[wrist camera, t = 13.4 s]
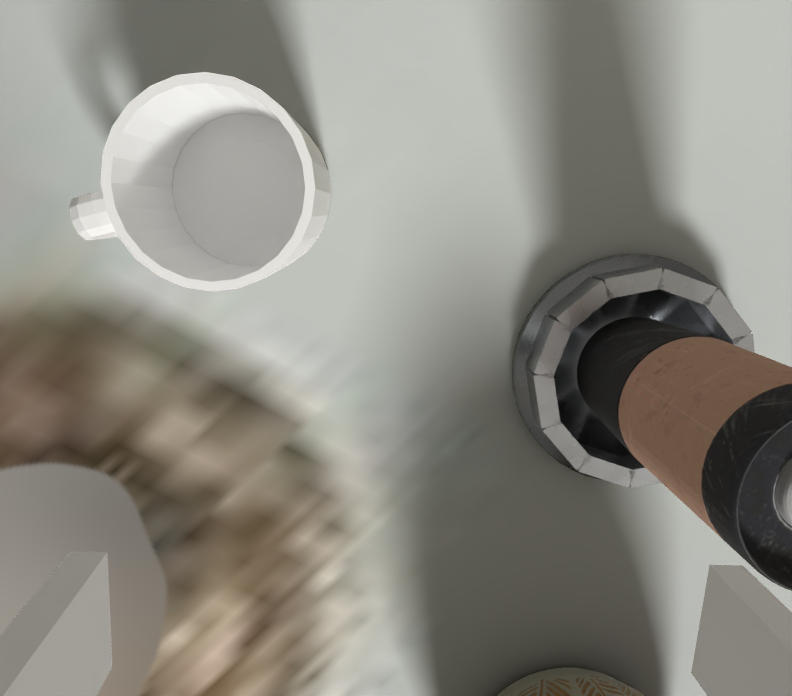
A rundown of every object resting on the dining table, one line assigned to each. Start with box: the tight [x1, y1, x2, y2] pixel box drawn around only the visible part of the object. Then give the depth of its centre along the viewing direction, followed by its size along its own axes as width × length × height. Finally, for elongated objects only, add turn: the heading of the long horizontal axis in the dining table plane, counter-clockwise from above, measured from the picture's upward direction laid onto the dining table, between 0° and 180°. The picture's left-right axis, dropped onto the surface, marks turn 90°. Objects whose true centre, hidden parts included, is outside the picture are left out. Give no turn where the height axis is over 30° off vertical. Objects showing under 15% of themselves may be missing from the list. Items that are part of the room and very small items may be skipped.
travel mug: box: [577, 317, 792, 590], centre depth 33 cm, size 8×8×20 cm
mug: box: [69, 72, 331, 291], centre depth 36 cm, size 13×10×10 cm
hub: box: [512, 255, 754, 488], centre depth 42 cm, size 15×15×4 cm
